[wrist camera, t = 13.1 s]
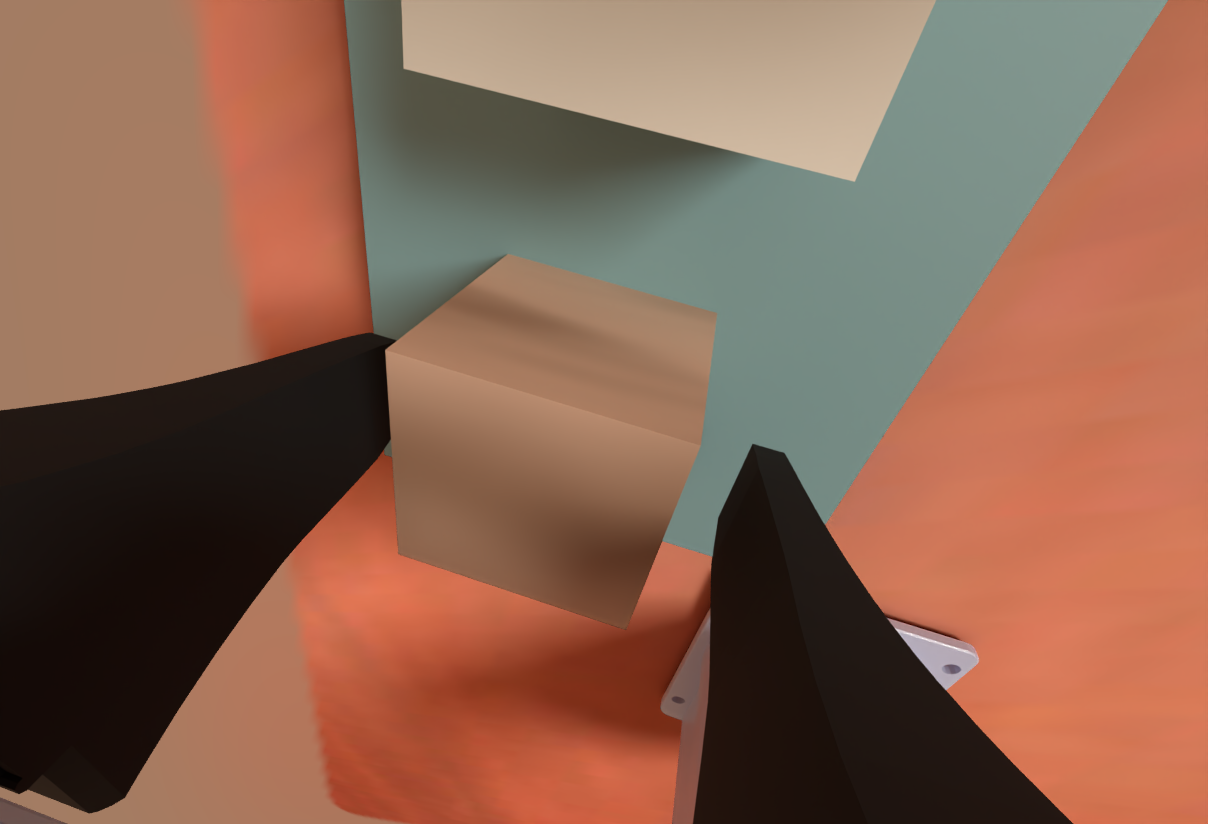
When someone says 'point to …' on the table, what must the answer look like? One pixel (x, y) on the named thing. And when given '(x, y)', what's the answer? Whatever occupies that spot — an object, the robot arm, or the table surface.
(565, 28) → the cream block
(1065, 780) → the table surface
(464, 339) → the brown block
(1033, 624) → the table surface
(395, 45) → the teal board
